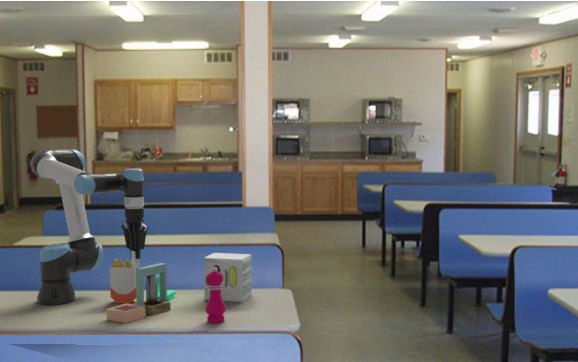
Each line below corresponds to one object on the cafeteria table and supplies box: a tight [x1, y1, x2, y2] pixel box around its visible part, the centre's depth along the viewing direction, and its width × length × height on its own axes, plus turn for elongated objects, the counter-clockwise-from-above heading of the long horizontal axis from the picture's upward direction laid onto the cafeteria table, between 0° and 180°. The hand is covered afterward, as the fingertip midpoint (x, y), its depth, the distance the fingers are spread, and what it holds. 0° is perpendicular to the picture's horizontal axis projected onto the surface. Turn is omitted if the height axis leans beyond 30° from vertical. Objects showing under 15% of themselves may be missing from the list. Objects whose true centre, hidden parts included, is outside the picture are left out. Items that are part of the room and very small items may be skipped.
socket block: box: [133, 300, 172, 316], centre depth 263 cm, size 10×10×3 cm
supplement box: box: [203, 252, 253, 303], centre depth 283 cm, size 17×13×18 cm
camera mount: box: [156, 274, 176, 302], centre depth 283 cm, size 12×8×10 cm, turn 167°
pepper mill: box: [205, 267, 227, 324], centre depth 247 cm, size 7×7×20 cm
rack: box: [106, 303, 147, 324], centre depth 252 cm, size 10×10×4 cm
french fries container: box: [109, 258, 138, 304], centre depth 278 cm, size 5×11×18 cm, turn 82°
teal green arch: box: [135, 262, 168, 307], centre depth 263 cm, size 3×14×17 cm, turn 146°
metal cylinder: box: [145, 274, 158, 306], centre depth 263 cm, size 4×4×14 cm
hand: (135, 266), depth 267 cm, fingers closed
